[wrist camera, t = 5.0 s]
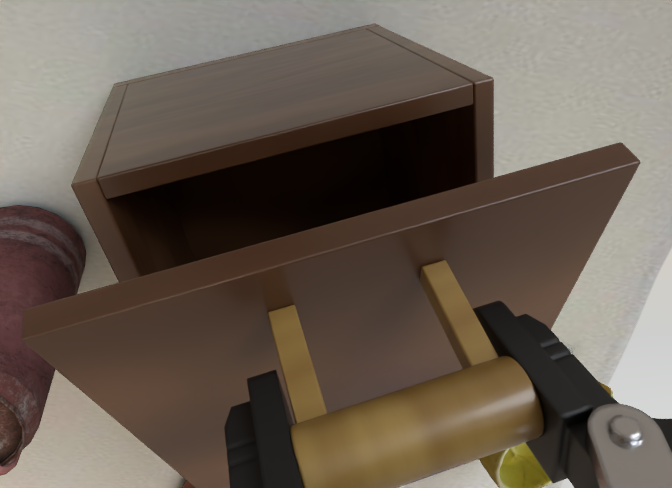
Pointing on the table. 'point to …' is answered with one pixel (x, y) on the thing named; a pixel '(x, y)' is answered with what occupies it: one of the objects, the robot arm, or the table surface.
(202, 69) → the wooden box
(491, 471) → the mug
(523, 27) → the table surface
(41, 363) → the can
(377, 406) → the lid
